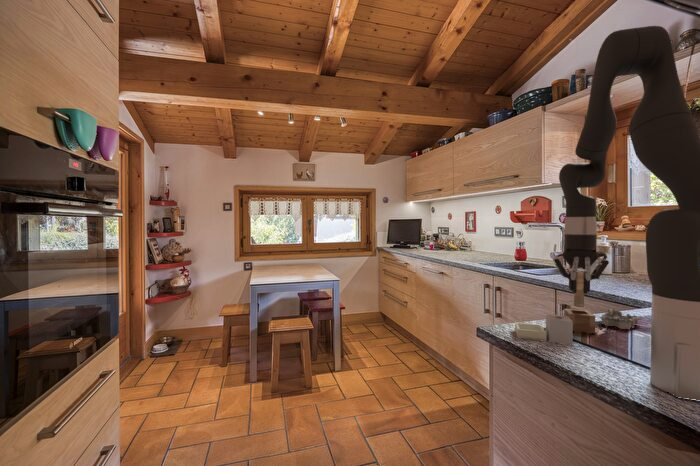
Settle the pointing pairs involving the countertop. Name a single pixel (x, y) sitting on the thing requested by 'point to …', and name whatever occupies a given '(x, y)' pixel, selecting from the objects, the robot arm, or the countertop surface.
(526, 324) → the tray
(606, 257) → the coffee maker
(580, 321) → the bore block
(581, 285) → the tan wooden peg
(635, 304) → the countertop surface
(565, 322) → the off-white square block
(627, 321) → the grey lumpy piece
